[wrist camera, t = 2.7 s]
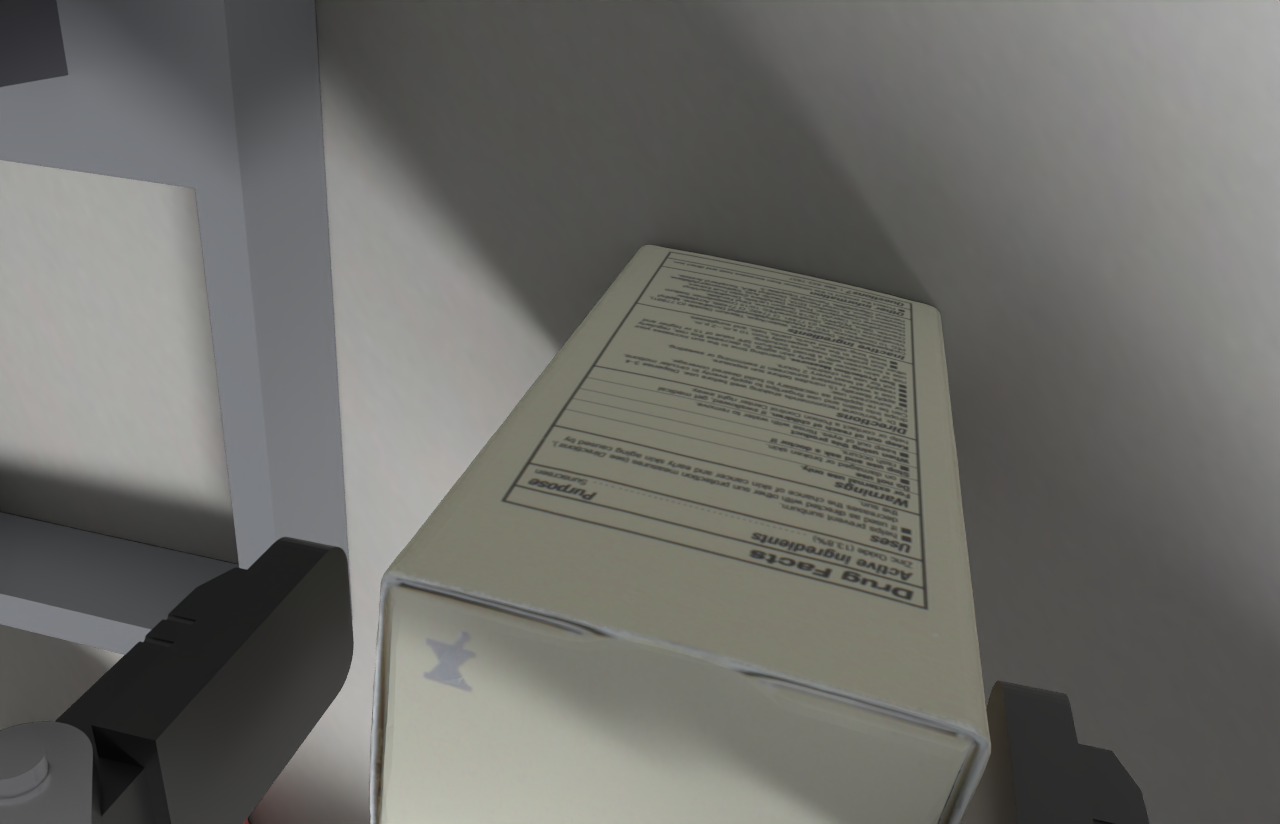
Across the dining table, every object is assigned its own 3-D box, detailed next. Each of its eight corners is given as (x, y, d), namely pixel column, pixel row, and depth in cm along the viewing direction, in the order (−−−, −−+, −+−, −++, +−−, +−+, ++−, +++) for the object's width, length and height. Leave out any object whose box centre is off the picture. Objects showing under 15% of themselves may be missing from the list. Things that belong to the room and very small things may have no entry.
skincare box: (611, 421, 23) (334, 860, 12) (642, 233, 21) (343, 559, 10) (902, 497, 22) (878, 1043, 11) (962, 307, 20) (1002, 749, 9)
